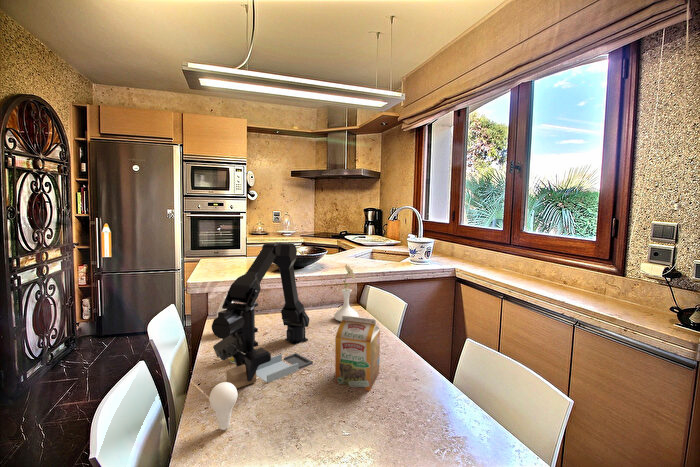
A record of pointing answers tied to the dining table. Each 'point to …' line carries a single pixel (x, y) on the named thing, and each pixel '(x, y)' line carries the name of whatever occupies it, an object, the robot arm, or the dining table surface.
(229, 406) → the lightbulb
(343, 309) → the flower in vase
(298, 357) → the dark gray shallow tray
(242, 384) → the block
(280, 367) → the grey bracket
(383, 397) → the dining table surface
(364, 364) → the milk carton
